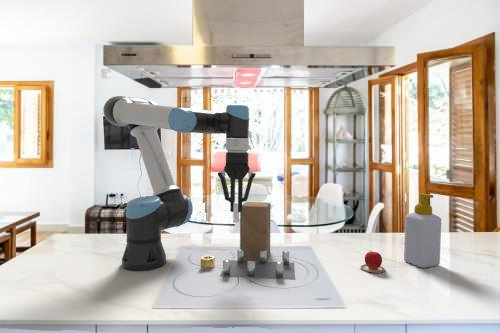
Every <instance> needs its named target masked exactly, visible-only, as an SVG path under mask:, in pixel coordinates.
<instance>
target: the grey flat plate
mask: <svg viewBox="0 0 500 333" xmlns="http://www.w3.org/2000/svg"><path fill="white" fill-rule="evenodd" d="M229 260H230V275H229V276H224V275H223V270H221V273H220V274H219V277H223V278H247V279H248V278H249V279H266V280H268V279H271V280H289V281H290V280H292V281H295V280H296V270H295V269H296V268H295V262H290V261H289V265H283V277H282V278H277V277H276V262H277V261H266V264H260V260H259V261H257V260H254V261H255V276H254V277H249V276H248V261H249V260H244V263H242V264H239V263H237V259H236V260H234V259H233V260H231V259H229Z"/></svg>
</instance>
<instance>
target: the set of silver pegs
mask: <svg viewBox="0 0 500 333" xmlns="http://www.w3.org/2000/svg"><path fill="white" fill-rule="evenodd" d="M236 252H237V254H236V255H237V256H236V260H237V263H239V264H242V263H244V261H245V258H244V250H243V249H240V248H239V249H237V251H236ZM281 253H282V254H281V255H282V257H281V258H282V260H281V261H275V262H276V277H277V278H282V277H283V265H289V262H290V251H289V250H282V252H281ZM266 259H267V260H268V258H267V251H266V250H260V260H259V261H260V264H266V262H267V260H266ZM230 260H231V259H223V260H222V271H223V275H224V276H229V275H230ZM247 261H248V276H249V277H254V276H255V261H256V260H253V259H249V260H247Z"/></svg>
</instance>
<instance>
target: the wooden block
mask: <svg viewBox="0 0 500 333" xmlns="http://www.w3.org/2000/svg"><path fill="white" fill-rule="evenodd" d="M271 209H272V208H271V202H263V201H262V202H261V201H244V202H243V203H242V211H241V212H239V249H243V250H244V260H246V259H247V260H248V259H249V260H259V261H260V250H266V251H267V259H266V261H267V260H268V257H269V255H270V254H271Z"/></svg>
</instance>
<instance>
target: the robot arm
mask: <svg viewBox="0 0 500 333" xmlns="http://www.w3.org/2000/svg"><path fill="white" fill-rule="evenodd" d="M249 108H250V107H248V105H246V104H239V103H237V104H234V103H232V104H228V105H226V110H225V111H212V110H201V109H196V108H195V109H193V108H189V107H175V106H166V105H158V104H157V103H156V102H154V101H153V100H150V99H147V98H137V97H130V96H125V95H117V96H112V97H110V98H109V99H108V100H106V101H105V104H104V106H103V108H102V109H103V110H102V111H103V116H104V117H105V120H107V122H109V123H110V124H111V125H113V126H117V127H123V128H125V127H126V128H128V131H129V133H130V135H131V136H132V137H134V138H136V139H135V140H136V141H137V146H138V148H139V152H140V154H141V158H142V161H143V163H144V167H145V169H146V173H147V176H148V179H149V182H150V185H151V188H152V191H153V194H152V195H147V196H139V197H136V198H133V199H131V200H129V201H128V202H127V203H126V208H125V210H126V211H125V217H126V218H125V219H126V245H125V248H124V252H123V255H122V257H121V267H122V268H123V269H125V270H127V271H134V272H135V271H136V272H138V271H140V272H142V271H150V270H154V269H158V268H161V267H163V266H165V265H166V263H167V255H166V254H167V253H166V251H165V249H164V245H163V243H162V231H165V230H169V229H172V228H177V227H181V226H182V225H185V224H186V223H188V222H189V221H190V219H191V217H192V216H193V211H194V207H193V203H192V200H191V198H190V197H188V196H187V195H185V194H183V192H182V190H181V187H178V186H176V184H175V181H174V178H173V175H172V172H171V169H170V166H169V163H168V159H167V157H166V155H165V152H164V148H163V145H162V142H161V140H160V137H159V134H158V130H159V129H165V130H170V131H174V132H176V133H183V134H187V133H189V134H190V133H191V134H192V133H194V134H206V135H212V134H215V135H216V134H218V135H219V134H225V137H226V138H225V150H226V151H227V152H226V153H225V165H224V167H223V169H222V170H221V171H219V172H217V176H218V178H219V180H220V183H221V188H222V191H223V195H224V199H225V201H226V202H230V212H231V213H232V214H233V216H232V218H233V221H232V222H233V223H239V222H240V212H241V211H242V204H243V203H245V202H248V199H249V195H250V191H251V187H252V183H253V180H254V178H255V177H256V175H257V173H256V172H253V171H252V170H251V169H250V166H249V152H248V151H249V144H250V140H249V131H250V130H249V128H250V109H249ZM226 175H227V176H228V178H229V179H230V180H229V181H230V187H229V188H230V194H229V188H228V184H227V180H226ZM247 175H248V176H247ZM246 176H247V177H248V179H247V180H248V181H247V184H246V187H245V192H244V194H243V190H244V185H243V184H244V182H243V181H244V179H245V177H246ZM236 180H237V201H236Z"/></svg>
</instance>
